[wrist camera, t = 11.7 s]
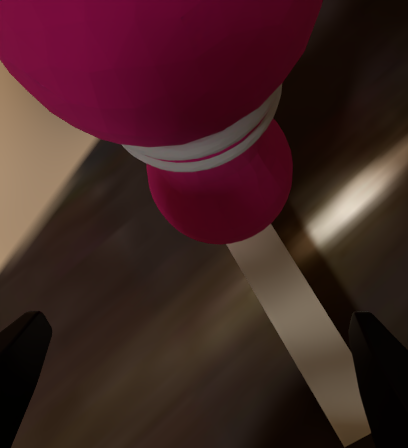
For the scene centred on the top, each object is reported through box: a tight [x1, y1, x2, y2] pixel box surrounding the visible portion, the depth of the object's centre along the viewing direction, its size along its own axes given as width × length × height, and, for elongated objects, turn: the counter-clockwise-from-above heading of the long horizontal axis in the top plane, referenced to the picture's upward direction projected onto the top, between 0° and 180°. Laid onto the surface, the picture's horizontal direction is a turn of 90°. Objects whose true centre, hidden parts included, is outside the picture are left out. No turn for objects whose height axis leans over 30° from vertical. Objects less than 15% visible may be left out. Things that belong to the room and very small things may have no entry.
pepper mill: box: [0, 0, 323, 244], centre depth 12 cm, size 7×7×20 cm
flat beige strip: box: [226, 224, 371, 447], centre depth 21 cm, size 20×3×2 cm, turn 30°
